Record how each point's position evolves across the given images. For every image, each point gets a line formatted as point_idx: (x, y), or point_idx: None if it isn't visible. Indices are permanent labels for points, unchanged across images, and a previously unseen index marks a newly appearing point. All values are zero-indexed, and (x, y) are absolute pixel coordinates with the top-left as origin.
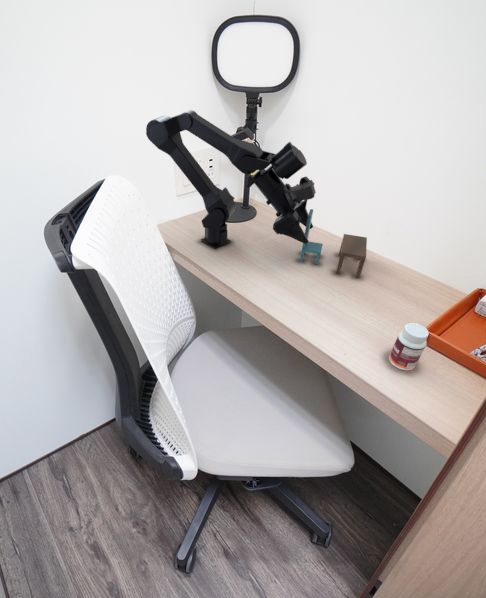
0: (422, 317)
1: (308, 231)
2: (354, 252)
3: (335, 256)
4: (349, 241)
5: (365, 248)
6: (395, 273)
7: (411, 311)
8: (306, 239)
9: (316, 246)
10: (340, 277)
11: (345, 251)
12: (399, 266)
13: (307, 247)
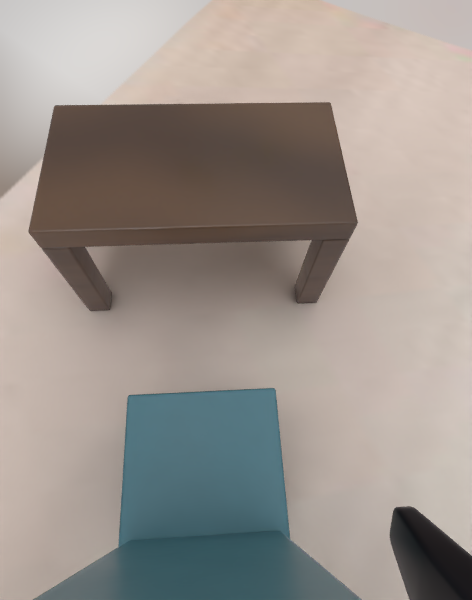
0: (435, 47)
1: (266, 561)
2: (313, 153)
3: (119, 325)
4: (157, 188)
5: (224, 106)
6: (192, 97)
7: (423, 67)
8: (446, 538)
9: (195, 436)
10: (336, 278)
11: (329, 199)
12: (127, 85)
13: (245, 512)
